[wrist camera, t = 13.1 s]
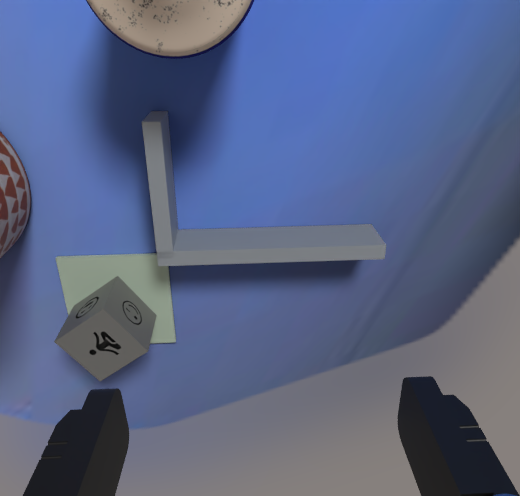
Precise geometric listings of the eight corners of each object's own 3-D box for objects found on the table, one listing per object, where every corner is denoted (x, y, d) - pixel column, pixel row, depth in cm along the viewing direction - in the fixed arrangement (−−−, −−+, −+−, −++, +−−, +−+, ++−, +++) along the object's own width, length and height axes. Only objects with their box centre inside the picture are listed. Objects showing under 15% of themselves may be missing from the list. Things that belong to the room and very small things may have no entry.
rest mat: (167, 253, 38) (166, 254, 38) (175, 340, 42) (175, 342, 42) (56, 256, 38) (55, 258, 37) (76, 344, 42) (75, 346, 41)
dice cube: (156, 315, 41) (148, 351, 36) (113, 342, 42) (100, 381, 37) (117, 275, 39) (103, 308, 34) (73, 305, 40) (54, 341, 35)
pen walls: (384, 108, 34) (402, 117, 31) (369, 237, 39) (384, 259, 35) (151, 111, 33) (141, 121, 30) (164, 243, 38) (158, 266, 34)
